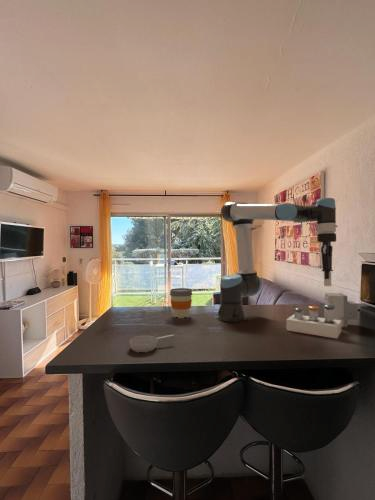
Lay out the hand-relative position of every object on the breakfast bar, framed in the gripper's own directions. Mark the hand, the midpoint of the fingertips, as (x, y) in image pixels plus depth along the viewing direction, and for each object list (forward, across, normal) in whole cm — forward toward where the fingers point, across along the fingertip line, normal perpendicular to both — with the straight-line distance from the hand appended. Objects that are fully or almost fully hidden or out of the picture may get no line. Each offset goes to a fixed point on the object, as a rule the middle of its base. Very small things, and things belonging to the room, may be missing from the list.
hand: (327, 285), depth 124 cm
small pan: (+21, -57, +54) cm, 81 cm away
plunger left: (+20, 0, +13) cm, 24 cm away
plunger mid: (+19, 0, +6) cm, 20 cm away
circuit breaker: (+21, +18, -3) cm, 28 cm away
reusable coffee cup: (+20, -12, +74) cm, 77 cm away
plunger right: (+18, 0, 0) cm, 18 cm away
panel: (+21, 0, +6) cm, 22 cm away
